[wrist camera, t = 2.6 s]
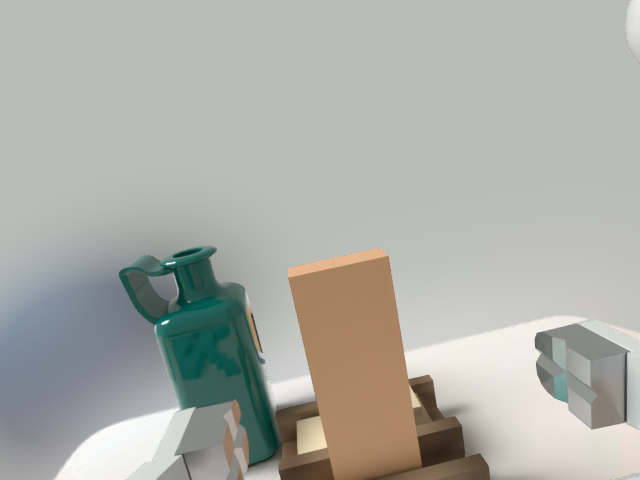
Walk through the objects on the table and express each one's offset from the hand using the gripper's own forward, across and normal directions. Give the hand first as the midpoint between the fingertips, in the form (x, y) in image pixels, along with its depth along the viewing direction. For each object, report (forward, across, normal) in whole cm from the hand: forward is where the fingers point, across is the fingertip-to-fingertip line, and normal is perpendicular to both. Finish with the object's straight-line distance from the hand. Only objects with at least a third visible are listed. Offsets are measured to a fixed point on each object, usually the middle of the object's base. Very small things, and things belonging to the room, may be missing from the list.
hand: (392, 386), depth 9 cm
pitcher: (+26, +13, +22) cm, 36 cm away
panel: (+12, 0, +20) cm, 23 cm away
